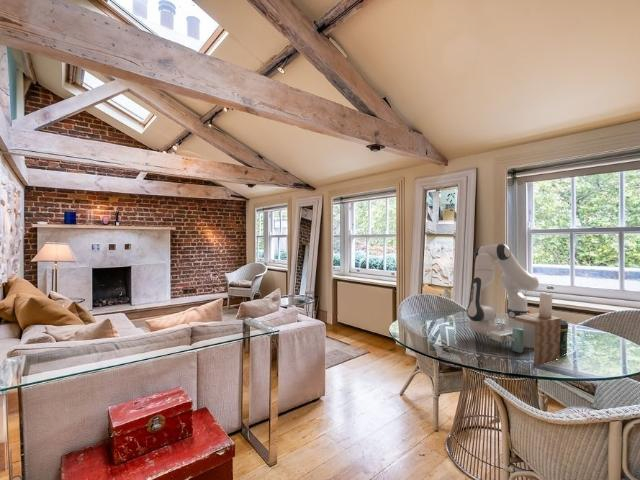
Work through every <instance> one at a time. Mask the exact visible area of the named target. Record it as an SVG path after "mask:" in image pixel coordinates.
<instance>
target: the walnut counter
mask: <svg viewBox="0 0 640 480" xmlns="http://www.w3.org/2000/svg"><path fill="white" fill-rule="evenodd" d="M514 320H516V321H520V322H523V323H527V324H531V325H535V345H534V348H533V349H534V350H533V365H534V364H535V365H539V366H541V365H540V364H542V365H545V364H544V363H546V364H548V363H547V362H549V363H552V362H555V361H554V360H556V359H559V360H560V356H559V352H560V329H561V320H562V318H561V317H557V316H554V315H552V316H551V318H546V317H541V316H539V312H531V313H529V314H526V315H520V316H515V319H514ZM551 361H552V362H551ZM556 361H557V360H556ZM535 365H534V366H535Z"/></svg>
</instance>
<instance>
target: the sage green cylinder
mask: <svg viewBox="0 0 640 480" xmlns="http://www.w3.org/2000/svg"><path fill="white" fill-rule="evenodd" d="M512 337H514V338H516V341H511V351H513V352H516V353H523V352H524V347H523V344H524V329H522V328H517V327H513V329H512Z"/></svg>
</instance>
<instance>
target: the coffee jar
mask: <svg viewBox="0 0 640 480" xmlns="http://www.w3.org/2000/svg"><path fill="white" fill-rule="evenodd" d="M568 331H569V323H568V322H567V321H566V320H562V319H561V329H560V352H559V355H564V354H566V353H567V354H568V333H569V332H568ZM567 354H566V355H567ZM564 356H565V355H564Z"/></svg>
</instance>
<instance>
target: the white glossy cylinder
mask: <svg viewBox="0 0 640 480" xmlns="http://www.w3.org/2000/svg"><path fill="white" fill-rule="evenodd" d="M538 310H539V312H538V313H539V316H541V317H546V318H551V316H553V315H552V311H553V294H551V293H544V292H541V293H540V292H539V309H538Z"/></svg>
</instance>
